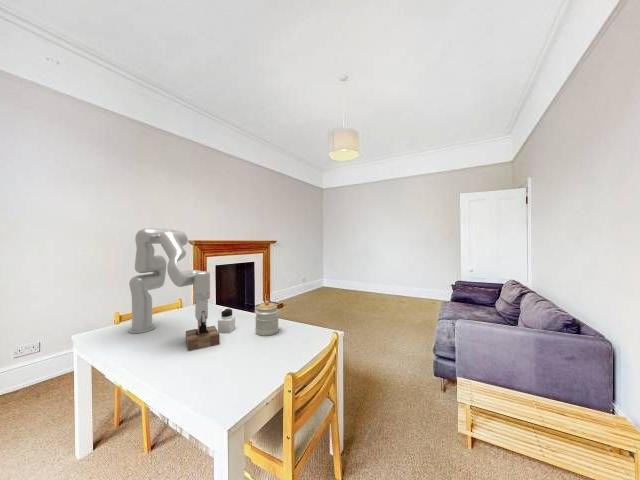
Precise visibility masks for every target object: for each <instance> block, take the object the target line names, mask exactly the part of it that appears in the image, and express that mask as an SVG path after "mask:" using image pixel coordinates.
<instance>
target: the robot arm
mask: <svg viewBox="0 0 640 480" xmlns="http://www.w3.org/2000/svg"><path fill="white" fill-rule="evenodd" d="M134 239H135V240H134V241H135V246H136V247H135V248H136V251H135V259H134V269H135V272H137V273H139V274H137V275H135V276H133V277H131V278H130V280H129V282H128V284H129V290H130V294H131V327H130V328H129V329H128V333H130V334H142V333H147V332H150V331H153V330H154V329H155V328H156V324H155V323H153V297H152V295H151V293H150V292H149V291H152V290H157V289H161V288H162V287H163V286H164V284H165V280H166V275H167V274H168V277H169V278H170V280H171V282H172V283H173V284H174V285H175V286H176V287H179V288H182V287H187V286H192V285H193V300H194V301H195V308H194V309H195V310H194V311H195V314H194V317H195V319H196V321H198V320H200V326H199V334H202V333H206V327H207V319H208V318H209V317H208V316H209V303H208V301H209V299H211V273H210V272H209V271H207V270H198V269H190V270H183V271H181V269H180V268H179V266H178V263H179V261H181V260H183V259H184V258H185V257H186V255H187V250H186V249H185V248H184V246H186V245H187V244H188V241H189V240H188V236H187V234H186V233H185V232H183V231H181V230H174V229H171V228H141V229H140V230H138V231H137V232H136V234H135V238H134ZM153 244H158V245H159V244H160V246H161V247H162V249H163V250H164V252H165V254H166V256H167V257H168V259H169V260H168V262H167V260H166V258H165V257H164V256H163V255H155V250H156V249H155V247H154V245H153ZM166 272H167V273H166ZM201 318H202V319H201Z"/></svg>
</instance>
